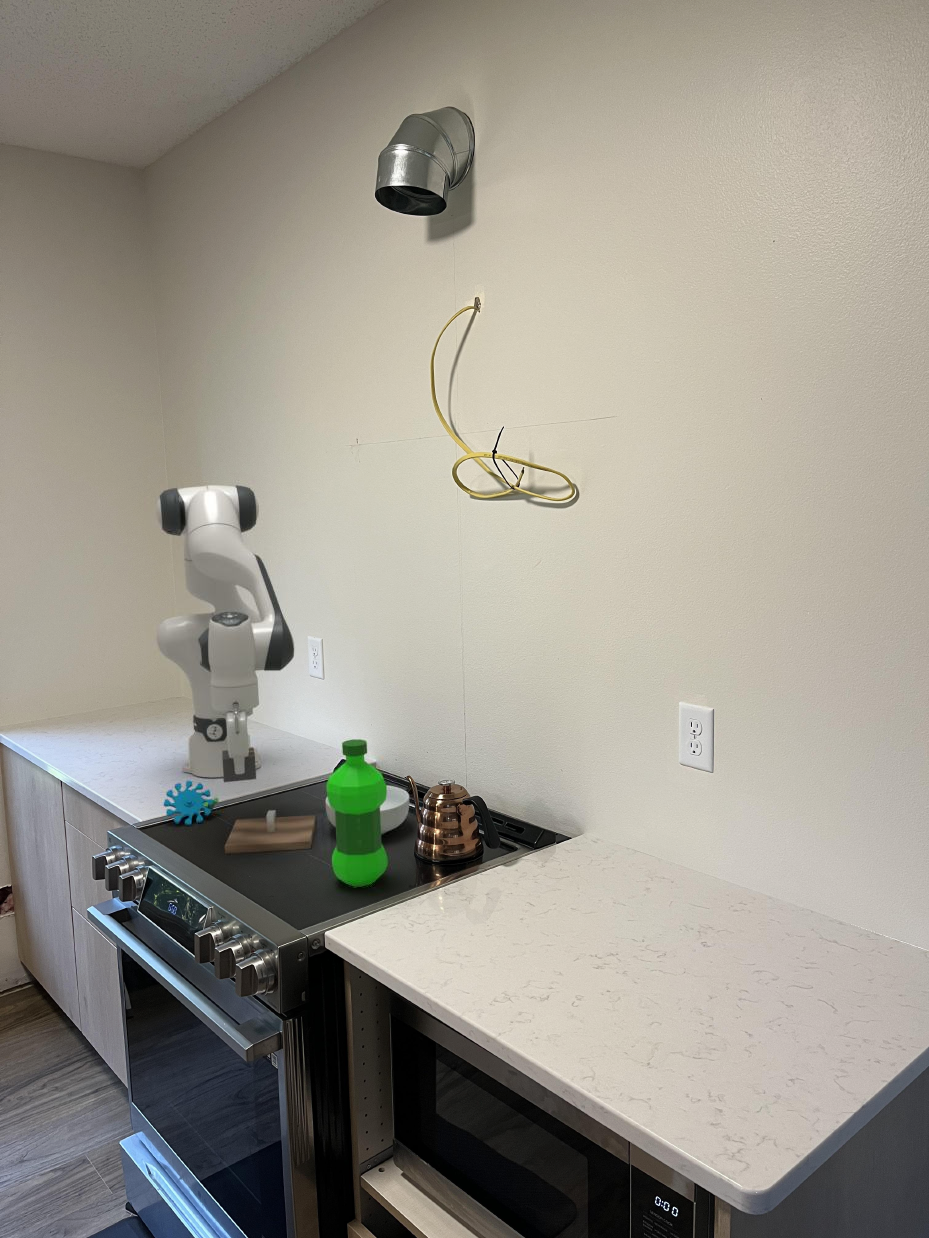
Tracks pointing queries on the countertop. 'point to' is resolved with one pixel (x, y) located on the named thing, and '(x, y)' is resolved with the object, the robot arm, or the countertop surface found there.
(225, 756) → the gray open-top tub
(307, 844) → the shaft base
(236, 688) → the robot arm
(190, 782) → the gear
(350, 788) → the plastic bottle
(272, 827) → the shaft
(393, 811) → the cereal bowl
